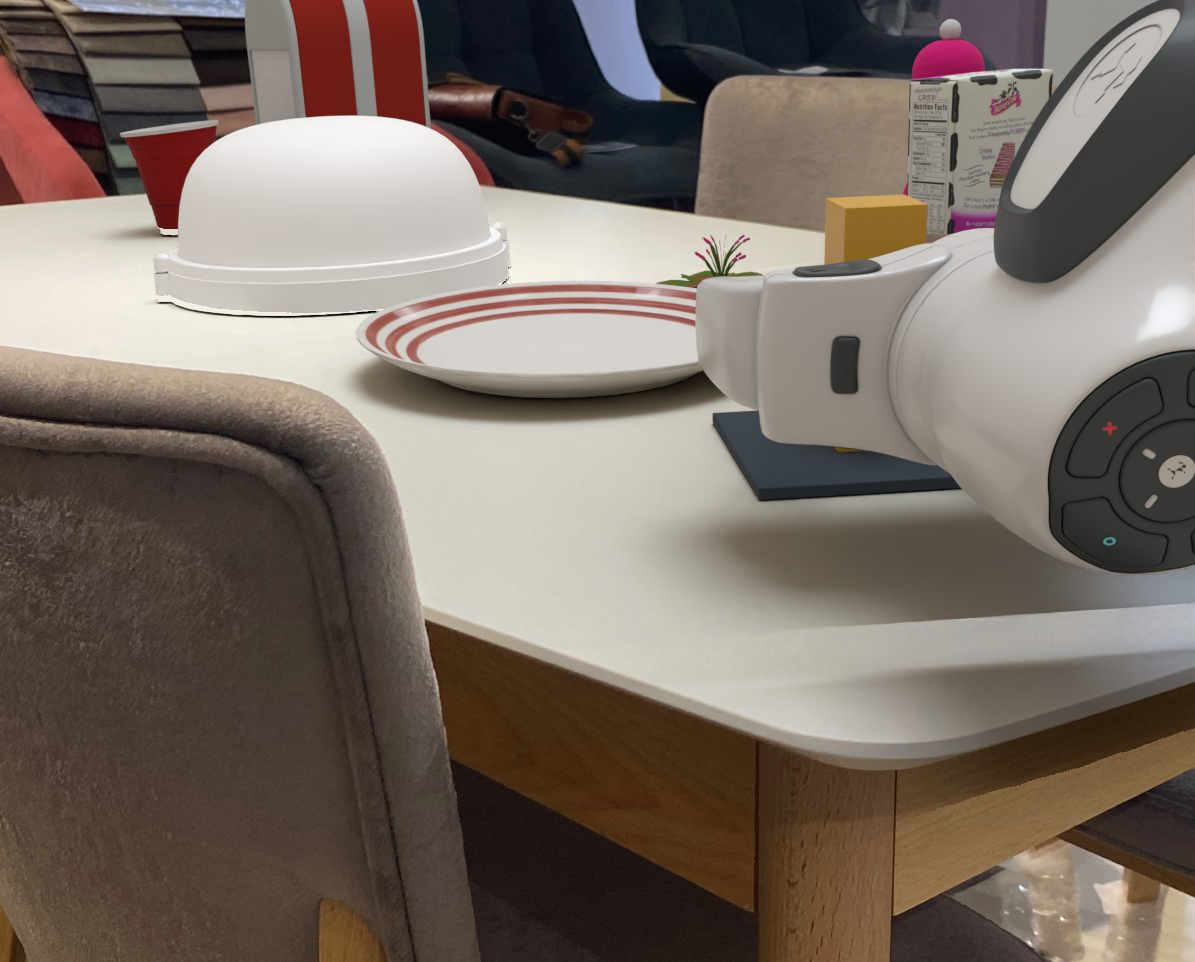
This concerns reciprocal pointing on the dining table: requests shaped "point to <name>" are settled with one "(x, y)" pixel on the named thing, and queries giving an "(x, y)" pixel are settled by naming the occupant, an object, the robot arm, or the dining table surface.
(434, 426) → the dining table surface
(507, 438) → the dining table surface
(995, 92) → the candy bar box
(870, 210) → the bar
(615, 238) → the dining table surface
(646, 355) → the dinner plate
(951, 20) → the pepper mill
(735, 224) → the dining table surface
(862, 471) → the mat
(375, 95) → the red striped carton
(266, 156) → the dome cover
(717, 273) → the lily flower
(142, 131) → the plastic cup
